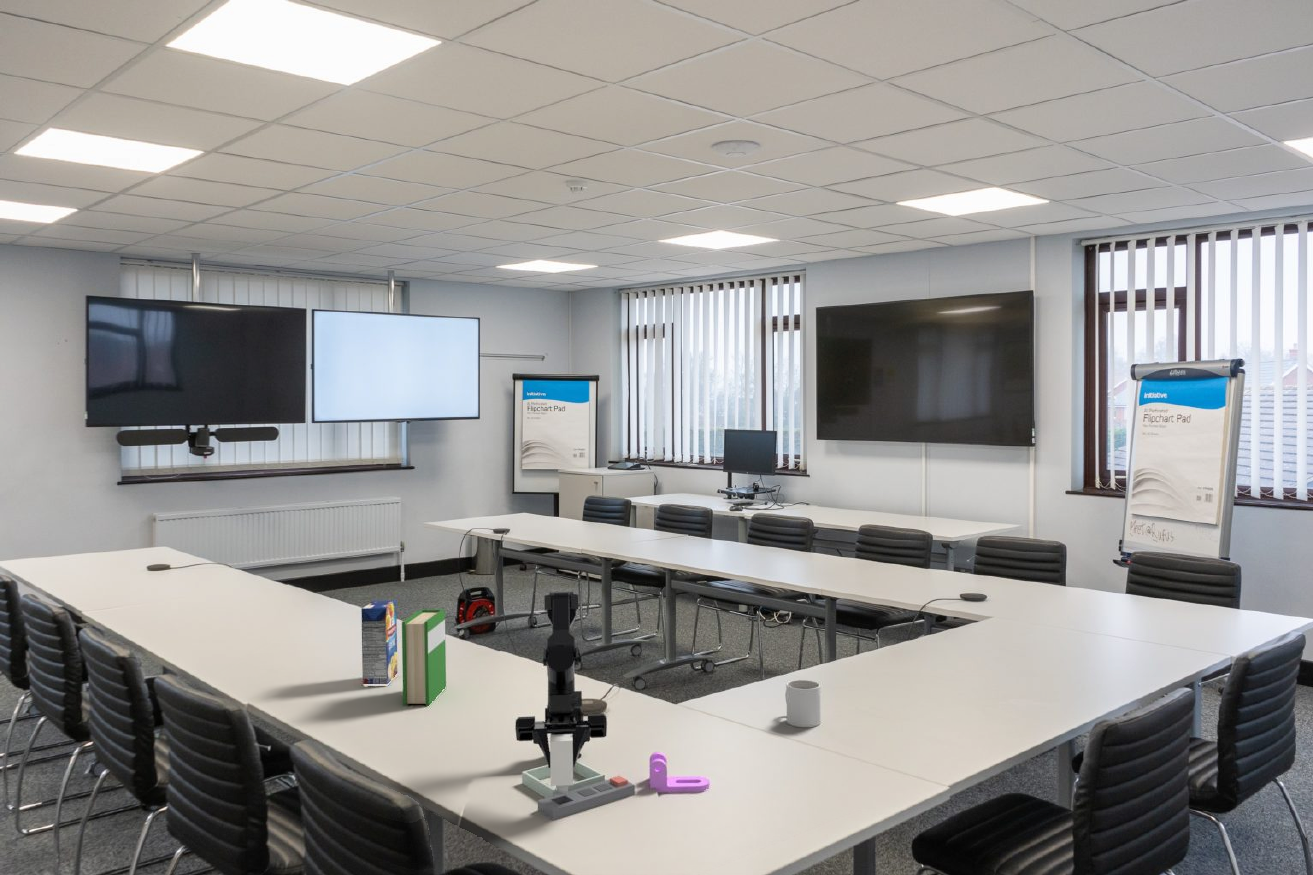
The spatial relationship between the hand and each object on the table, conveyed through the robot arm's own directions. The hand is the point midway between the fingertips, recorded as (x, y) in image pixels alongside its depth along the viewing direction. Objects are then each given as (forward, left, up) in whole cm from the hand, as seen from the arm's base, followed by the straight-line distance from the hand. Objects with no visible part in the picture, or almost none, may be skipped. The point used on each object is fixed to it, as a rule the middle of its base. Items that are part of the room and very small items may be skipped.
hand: (561, 766), depth 185 cm
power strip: (-1, +7, -10) cm, 12 cm away
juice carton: (-121, +8, -11) cm, 122 cm away
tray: (-12, +8, -10) cm, 18 cm away
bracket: (+3, +28, -11) cm, 30 cm away
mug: (-11, +81, -11) cm, 83 cm away
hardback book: (-96, +12, -11) cm, 98 cm away
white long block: (-1, +1, -6) cm, 6 cm away
